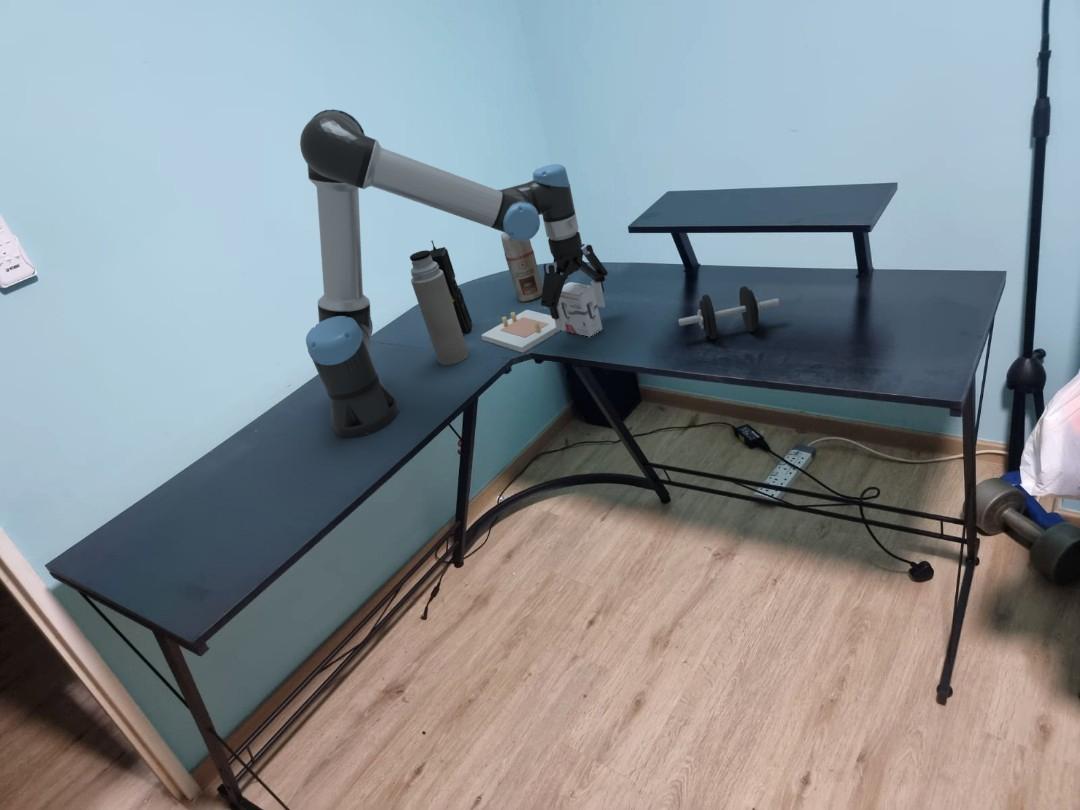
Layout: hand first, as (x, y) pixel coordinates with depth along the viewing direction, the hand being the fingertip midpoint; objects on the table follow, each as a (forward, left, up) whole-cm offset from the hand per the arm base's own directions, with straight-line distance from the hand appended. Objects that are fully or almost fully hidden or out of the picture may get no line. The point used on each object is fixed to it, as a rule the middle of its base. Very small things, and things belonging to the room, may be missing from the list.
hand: (581, 317), depth 174 cm
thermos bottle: (-25, +23, -4) cm, 34 cm away
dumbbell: (+13, -34, -4) cm, 37 cm away
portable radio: (-14, +35, -4) cm, 38 cm away
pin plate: (-7, +15, -4) cm, 17 cm away
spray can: (+10, +33, -4) cm, 35 cm away
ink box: (0, 0, -4) cm, 4 cm away
